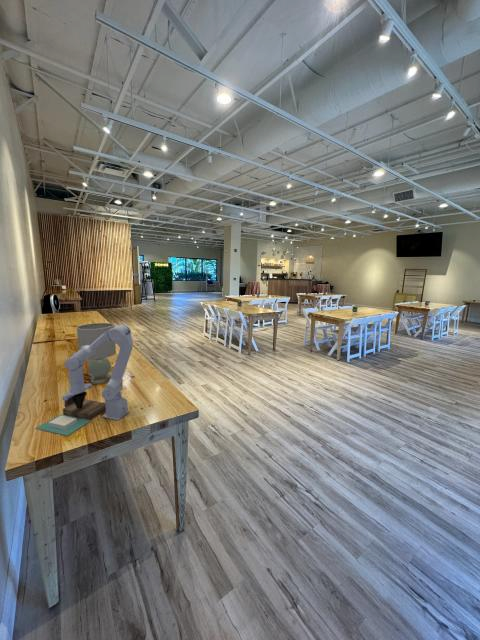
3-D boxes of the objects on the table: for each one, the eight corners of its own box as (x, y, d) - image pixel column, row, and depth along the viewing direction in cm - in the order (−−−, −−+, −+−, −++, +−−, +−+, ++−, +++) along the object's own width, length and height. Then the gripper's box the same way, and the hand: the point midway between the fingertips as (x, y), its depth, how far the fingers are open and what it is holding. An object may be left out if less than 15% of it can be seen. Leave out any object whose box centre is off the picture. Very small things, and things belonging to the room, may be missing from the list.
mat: (91, 421, 122) (90, 420, 122) (67, 436, 111) (67, 435, 111) (60, 414, 127) (60, 414, 127) (35, 428, 116) (35, 428, 116)
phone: (64, 406, 134) (64, 394, 146) (65, 408, 134) (64, 396, 146) (82, 402, 138) (80, 391, 151) (83, 404, 139) (80, 393, 151)
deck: (108, 408, 133) (107, 403, 133) (90, 420, 123) (89, 414, 122) (82, 404, 137) (82, 398, 137) (63, 414, 127) (62, 408, 127)
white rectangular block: (64, 425, 114) (65, 430, 114) (76, 418, 120) (77, 422, 120) (48, 422, 116) (49, 426, 117) (61, 415, 122) (61, 419, 122)
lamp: (105, 372, 181) (101, 321, 175) (124, 378, 171) (121, 324, 165) (75, 382, 164) (69, 326, 158) (94, 390, 154) (89, 330, 148)
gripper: (82, 374, 132) (85, 399, 134) (55, 385, 118) (59, 414, 120) (94, 375, 130) (96, 401, 132) (68, 387, 116) (71, 416, 118)
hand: (79, 407), depth 126 cm, fingers closed
